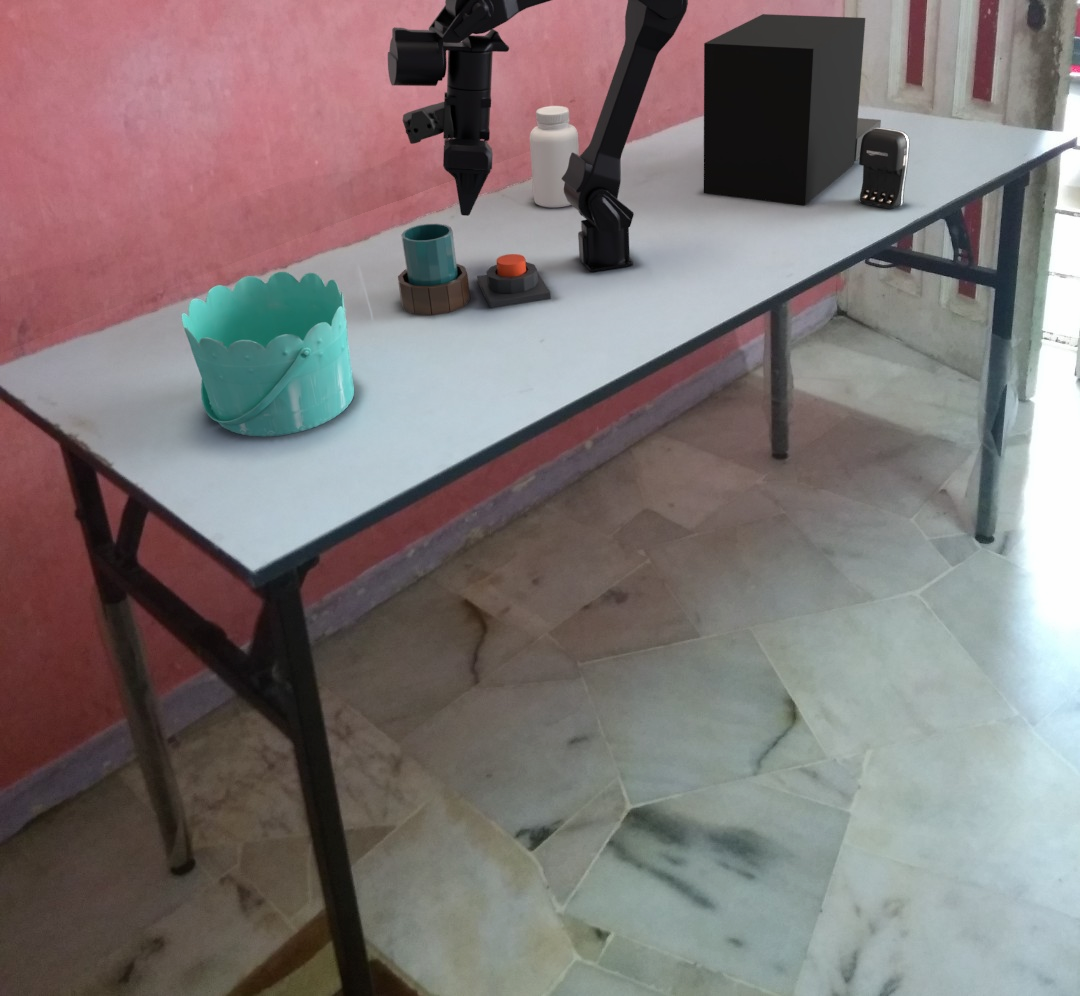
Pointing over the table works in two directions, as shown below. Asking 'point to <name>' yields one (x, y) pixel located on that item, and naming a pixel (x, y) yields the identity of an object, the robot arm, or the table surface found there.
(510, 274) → the release button
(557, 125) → the pill bottle
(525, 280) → the button housing
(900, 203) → the battery charger
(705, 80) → the matte black box
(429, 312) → the stave barrel planter
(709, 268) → the table surface
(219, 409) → the basket
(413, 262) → the cup
